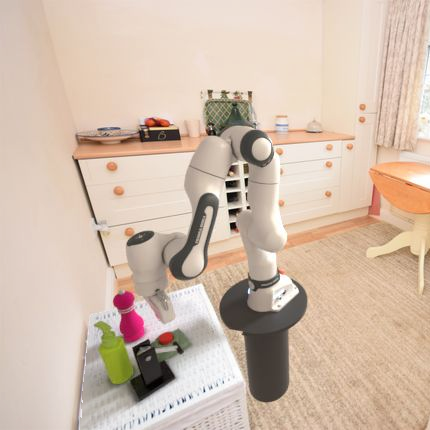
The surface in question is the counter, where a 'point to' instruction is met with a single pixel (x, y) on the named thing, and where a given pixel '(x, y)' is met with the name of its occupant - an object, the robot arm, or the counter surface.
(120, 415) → the counter surface
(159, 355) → the button block
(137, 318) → the pepper mill
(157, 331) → the counter surface
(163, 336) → the button
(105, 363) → the soap dispenser
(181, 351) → the tap lever
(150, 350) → the bracket
